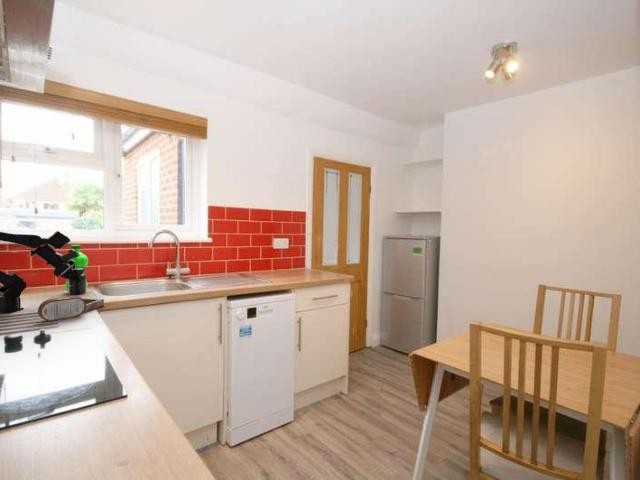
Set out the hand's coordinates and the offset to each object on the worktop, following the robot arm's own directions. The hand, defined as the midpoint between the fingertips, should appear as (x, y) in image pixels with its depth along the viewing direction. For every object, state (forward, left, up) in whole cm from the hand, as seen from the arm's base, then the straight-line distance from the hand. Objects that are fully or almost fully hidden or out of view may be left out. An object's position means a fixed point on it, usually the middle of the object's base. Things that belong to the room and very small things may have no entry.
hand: (81, 279), depth 155 cm
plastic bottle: (+18, +17, -11) cm, 27 cm away
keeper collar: (-11, -8, -11) cm, 17 cm away
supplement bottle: (-1, +1, -7) cm, 7 cm away
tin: (-25, -12, -11) cm, 29 cm away
